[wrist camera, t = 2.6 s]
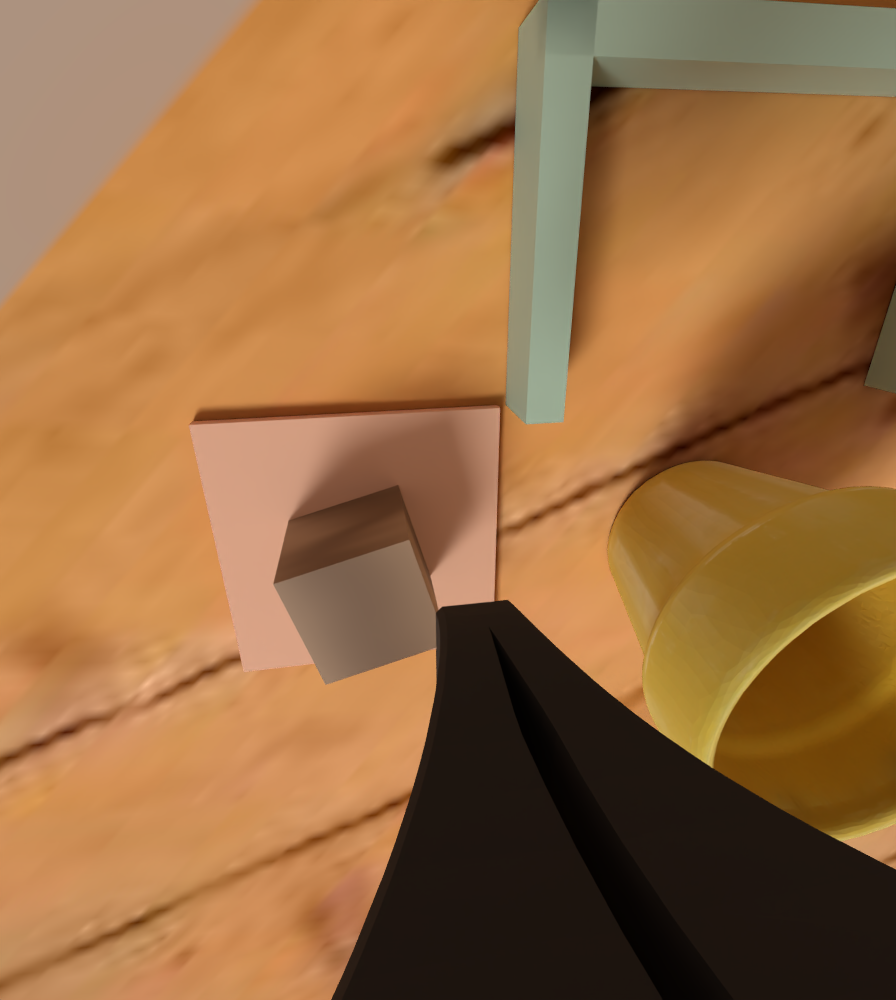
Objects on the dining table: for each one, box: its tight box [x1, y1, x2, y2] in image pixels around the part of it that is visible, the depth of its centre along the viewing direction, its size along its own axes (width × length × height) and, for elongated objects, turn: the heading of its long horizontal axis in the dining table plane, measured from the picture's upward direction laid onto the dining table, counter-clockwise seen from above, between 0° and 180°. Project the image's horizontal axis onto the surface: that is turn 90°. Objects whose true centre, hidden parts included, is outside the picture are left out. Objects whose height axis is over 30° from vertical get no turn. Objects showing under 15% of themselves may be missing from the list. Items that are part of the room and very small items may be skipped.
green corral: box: [506, 0, 896, 424], centre depth 16 cm, size 15×10×2 cm, turn 90°
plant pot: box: [607, 461, 896, 841], centre depth 18 cm, size 10×10×10 cm
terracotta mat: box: [189, 405, 500, 672], centre depth 20 cm, size 10×10×1 cm
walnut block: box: [273, 485, 439, 684], centre depth 18 cm, size 4×4×4 cm
